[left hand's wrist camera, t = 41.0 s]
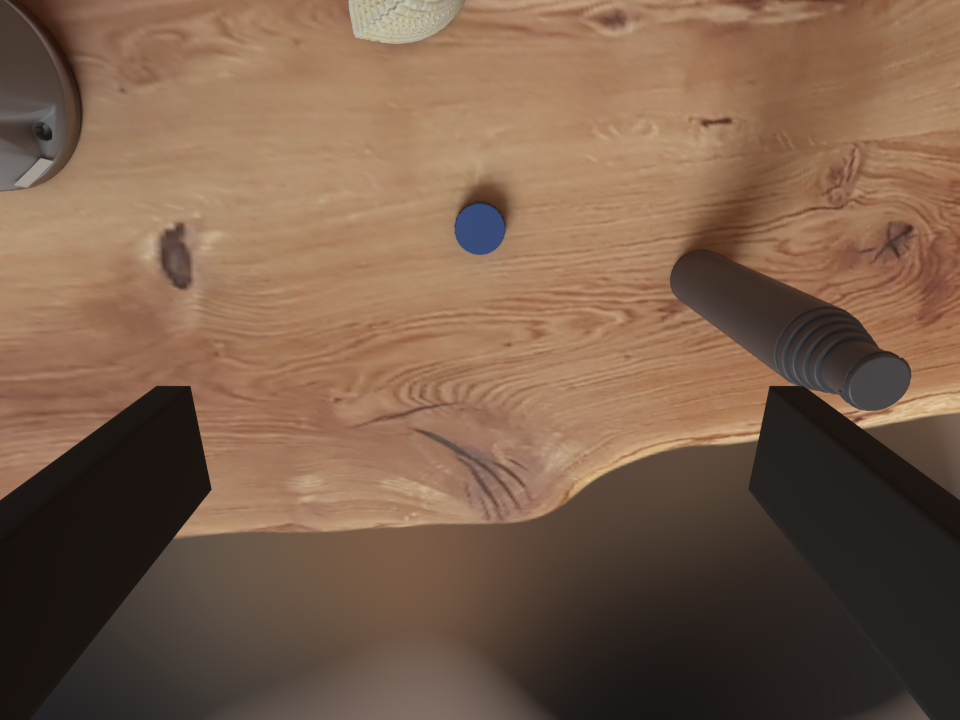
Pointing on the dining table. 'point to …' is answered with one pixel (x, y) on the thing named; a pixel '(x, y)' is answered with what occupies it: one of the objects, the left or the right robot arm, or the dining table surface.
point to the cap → (479, 228)
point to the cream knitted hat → (400, 18)
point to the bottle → (791, 331)
